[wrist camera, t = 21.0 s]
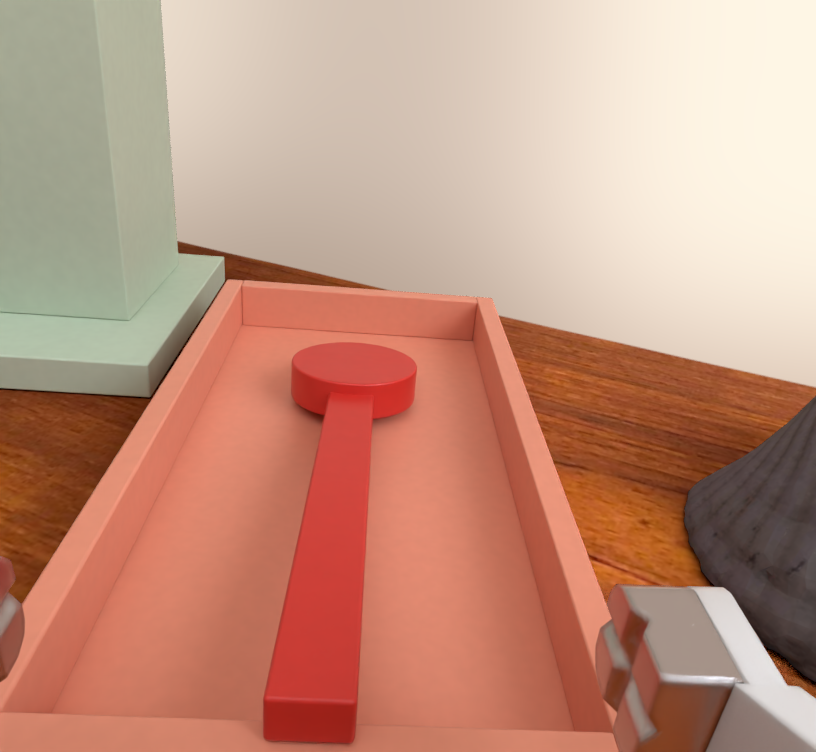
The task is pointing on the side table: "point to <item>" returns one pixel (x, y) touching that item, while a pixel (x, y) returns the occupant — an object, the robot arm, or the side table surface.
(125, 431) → the side table surface
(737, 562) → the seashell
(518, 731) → the tray
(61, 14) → the stand
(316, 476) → the red spoon
